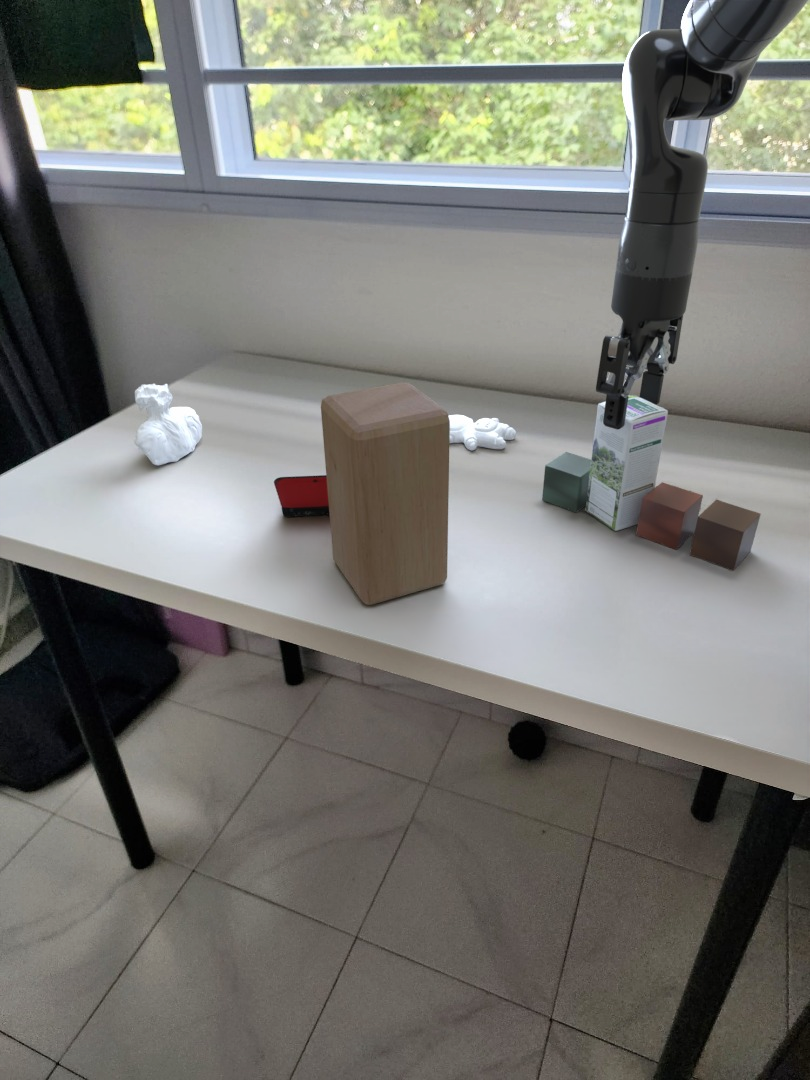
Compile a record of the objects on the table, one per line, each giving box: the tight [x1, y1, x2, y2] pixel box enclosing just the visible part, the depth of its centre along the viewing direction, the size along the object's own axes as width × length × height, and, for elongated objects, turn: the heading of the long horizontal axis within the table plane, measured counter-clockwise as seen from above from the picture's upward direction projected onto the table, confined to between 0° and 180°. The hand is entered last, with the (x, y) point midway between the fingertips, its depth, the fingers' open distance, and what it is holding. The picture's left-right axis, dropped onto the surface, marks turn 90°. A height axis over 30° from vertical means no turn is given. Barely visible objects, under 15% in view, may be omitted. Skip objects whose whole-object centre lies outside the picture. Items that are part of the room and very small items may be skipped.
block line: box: [541, 451, 762, 571], centre depth 89 cm, size 24×5×5 cm, turn 49°
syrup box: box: [585, 394, 669, 532], centre depth 88 cm, size 6×6×14 cm
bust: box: [134, 383, 203, 466], centre depth 107 cm, size 12×8×11 cm
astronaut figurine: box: [448, 414, 517, 451], centre depth 111 cm, size 9×12×3 cm
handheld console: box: [273, 474, 330, 518], centre depth 93 cm, size 12×11×7 cm
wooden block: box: [320, 381, 450, 606], centre depth 77 cm, size 10×10×20 cm
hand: (631, 415), depth 85 cm, fingers open, 8 cm apart
